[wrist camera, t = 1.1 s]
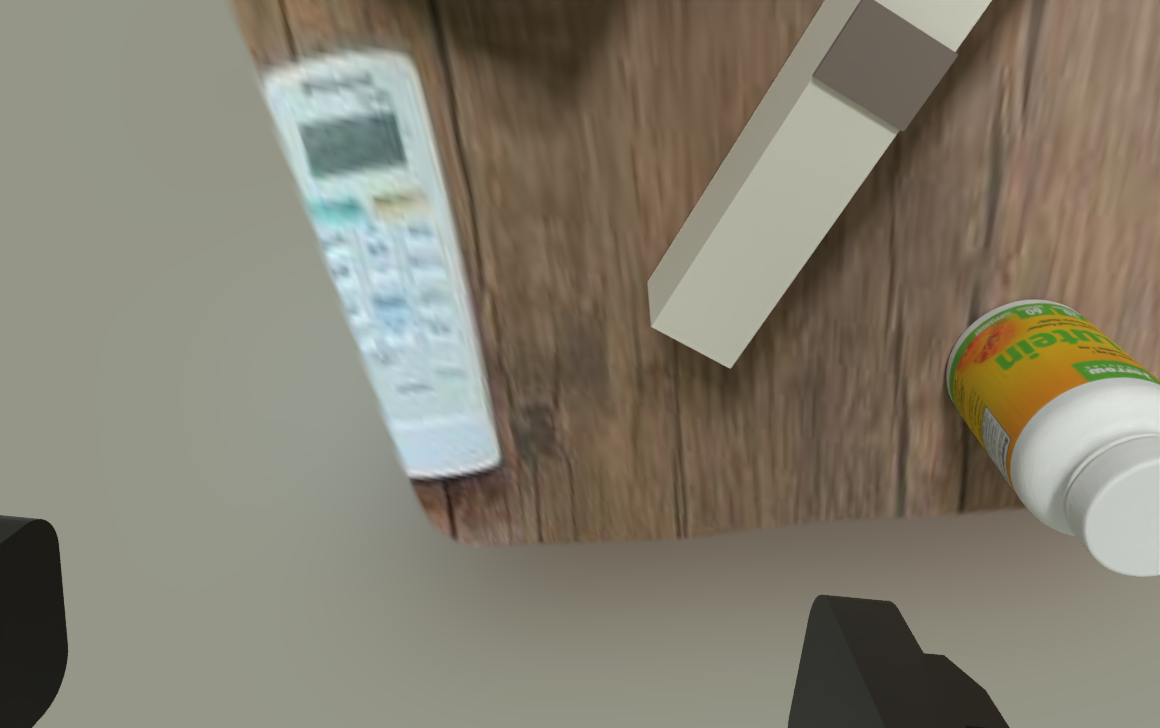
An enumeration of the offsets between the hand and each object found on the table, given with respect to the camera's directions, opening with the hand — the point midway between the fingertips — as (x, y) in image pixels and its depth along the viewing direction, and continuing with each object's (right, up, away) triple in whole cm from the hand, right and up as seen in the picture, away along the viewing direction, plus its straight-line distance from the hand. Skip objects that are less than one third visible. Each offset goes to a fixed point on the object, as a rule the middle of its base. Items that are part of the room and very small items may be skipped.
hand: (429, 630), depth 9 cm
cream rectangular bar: (+10, +13, +19) cm, 25 cm away
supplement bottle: (+18, +3, +24) cm, 30 cm away
